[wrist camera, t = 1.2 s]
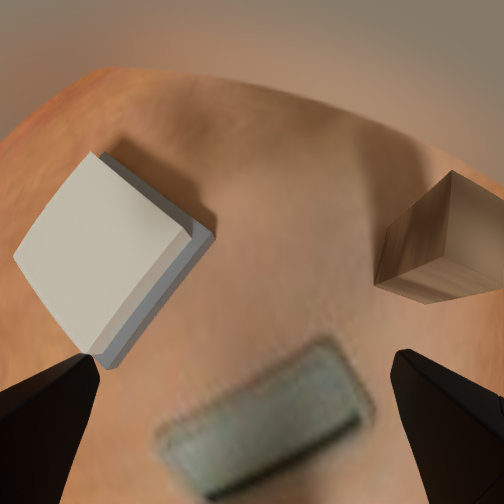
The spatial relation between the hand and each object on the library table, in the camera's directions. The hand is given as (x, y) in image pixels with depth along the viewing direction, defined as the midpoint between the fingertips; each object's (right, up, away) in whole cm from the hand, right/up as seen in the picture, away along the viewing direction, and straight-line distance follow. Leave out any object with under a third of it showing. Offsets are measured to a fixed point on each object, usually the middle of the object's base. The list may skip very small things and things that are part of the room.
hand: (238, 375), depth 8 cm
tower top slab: (-12, +3, +13) cm, 18 cm away
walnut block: (+13, +2, +14) cm, 19 cm away
